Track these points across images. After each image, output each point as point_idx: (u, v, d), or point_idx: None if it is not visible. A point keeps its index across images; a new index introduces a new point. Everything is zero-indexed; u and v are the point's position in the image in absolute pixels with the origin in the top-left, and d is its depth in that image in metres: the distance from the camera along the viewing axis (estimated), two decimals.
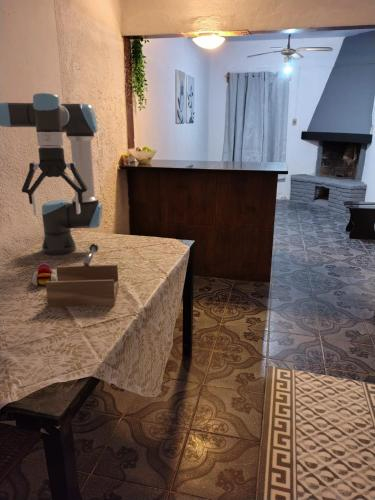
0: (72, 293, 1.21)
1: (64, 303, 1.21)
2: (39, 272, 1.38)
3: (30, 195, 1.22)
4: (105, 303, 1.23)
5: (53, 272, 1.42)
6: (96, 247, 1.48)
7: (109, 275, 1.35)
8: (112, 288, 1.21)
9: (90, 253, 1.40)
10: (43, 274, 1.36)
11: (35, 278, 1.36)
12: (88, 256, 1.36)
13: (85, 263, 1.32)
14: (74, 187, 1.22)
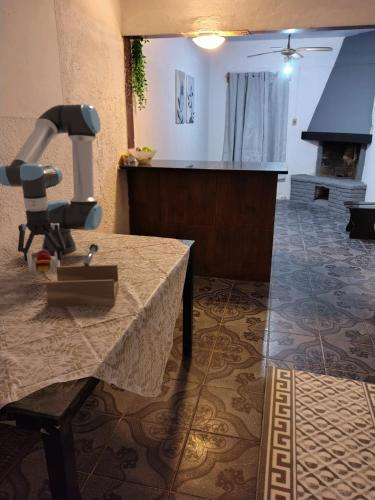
0: (72, 293, 1.21)
1: (64, 303, 1.21)
2: (38, 259, 1.37)
3: (26, 253, 1.37)
4: (105, 303, 1.23)
5: (52, 259, 1.41)
6: (96, 247, 1.48)
7: (109, 275, 1.35)
8: (112, 288, 1.21)
9: (90, 253, 1.40)
10: (42, 260, 1.35)
11: (34, 265, 1.36)
12: (88, 256, 1.36)
13: (85, 263, 1.32)
14: (54, 246, 1.37)
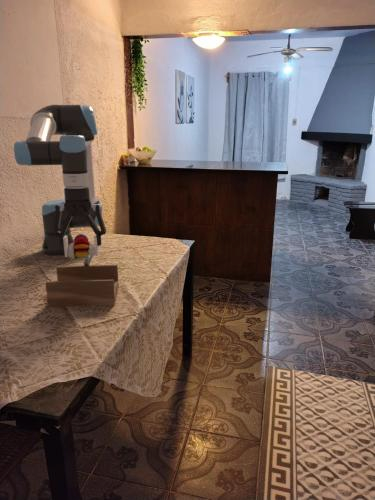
0: (72, 293, 1.21)
1: (64, 303, 1.21)
2: (76, 243, 1.22)
3: (62, 238, 1.22)
4: (105, 303, 1.23)
5: (91, 244, 1.26)
6: None
7: (109, 275, 1.35)
8: (112, 288, 1.21)
9: None
10: (81, 245, 1.20)
11: (72, 250, 1.20)
12: (88, 256, 1.36)
13: (85, 263, 1.32)
14: (94, 229, 1.21)
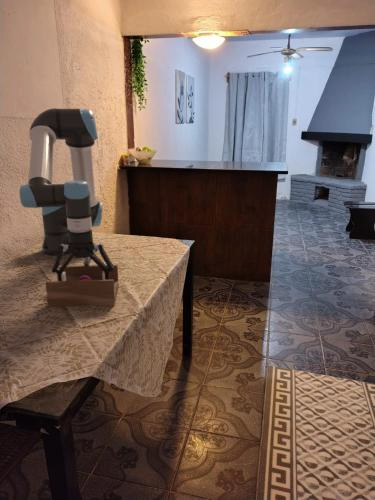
0: (72, 293, 1.21)
1: (64, 303, 1.21)
2: None
3: (60, 275, 1.25)
4: (105, 303, 1.23)
5: None
6: None
7: (109, 275, 1.35)
8: (112, 288, 1.21)
9: None
10: None
11: None
12: None
13: (85, 263, 1.32)
14: (101, 267, 1.25)
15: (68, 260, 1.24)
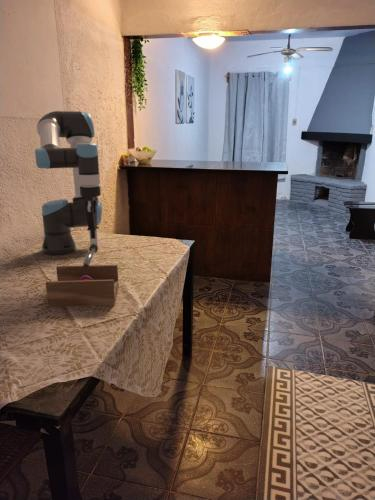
0: (72, 293, 1.21)
1: (64, 303, 1.21)
2: None
3: None
4: (105, 303, 1.23)
5: None
6: (96, 248, 1.47)
7: (109, 275, 1.35)
8: (112, 288, 1.21)
9: (90, 254, 1.39)
10: None
11: None
12: (88, 257, 1.36)
13: (85, 264, 1.31)
14: None
15: None
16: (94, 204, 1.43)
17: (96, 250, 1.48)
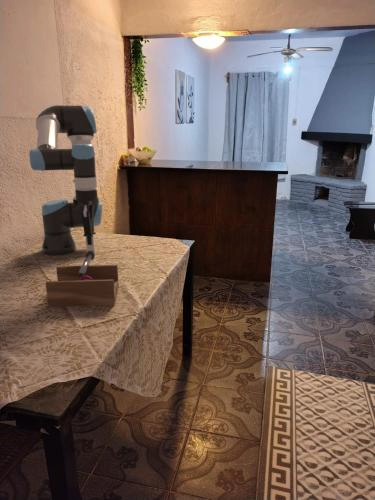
0: (72, 293, 1.21)
1: (64, 303, 1.21)
2: None
3: None
4: (105, 303, 1.23)
5: None
6: (92, 254, 1.39)
7: (109, 275, 1.35)
8: (112, 288, 1.21)
9: (86, 261, 1.31)
10: None
11: None
12: (84, 265, 1.27)
13: (80, 273, 1.23)
14: None
15: None
16: (90, 208, 1.35)
17: (93, 257, 1.40)
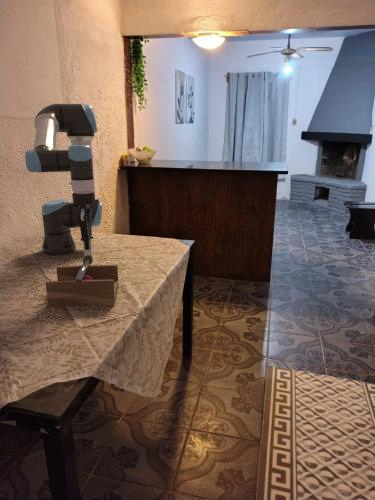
0: (72, 293, 1.21)
1: (64, 303, 1.21)
2: None
3: None
4: (105, 303, 1.23)
5: None
6: (90, 259, 1.34)
7: (109, 275, 1.35)
8: (112, 288, 1.21)
9: (83, 267, 1.26)
10: None
11: None
12: (81, 270, 1.22)
13: (77, 279, 1.18)
14: None
15: None
16: (88, 212, 1.30)
17: (90, 262, 1.35)
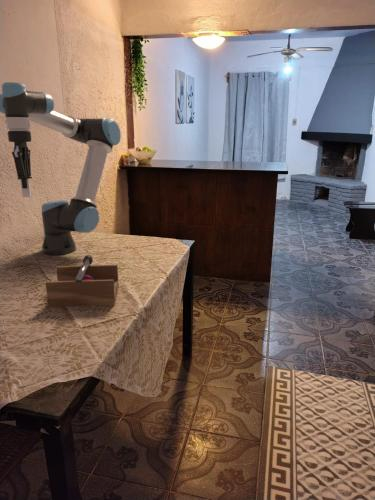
0: (72, 293, 1.21)
1: (64, 303, 1.21)
2: None
3: None
4: (105, 303, 1.23)
5: None
6: (90, 259, 1.34)
7: (109, 275, 1.35)
8: (112, 288, 1.21)
9: (83, 267, 1.26)
10: None
11: None
12: (81, 270, 1.22)
13: (77, 279, 1.18)
14: None
15: None
16: (23, 150, 1.34)
17: (90, 262, 1.35)
